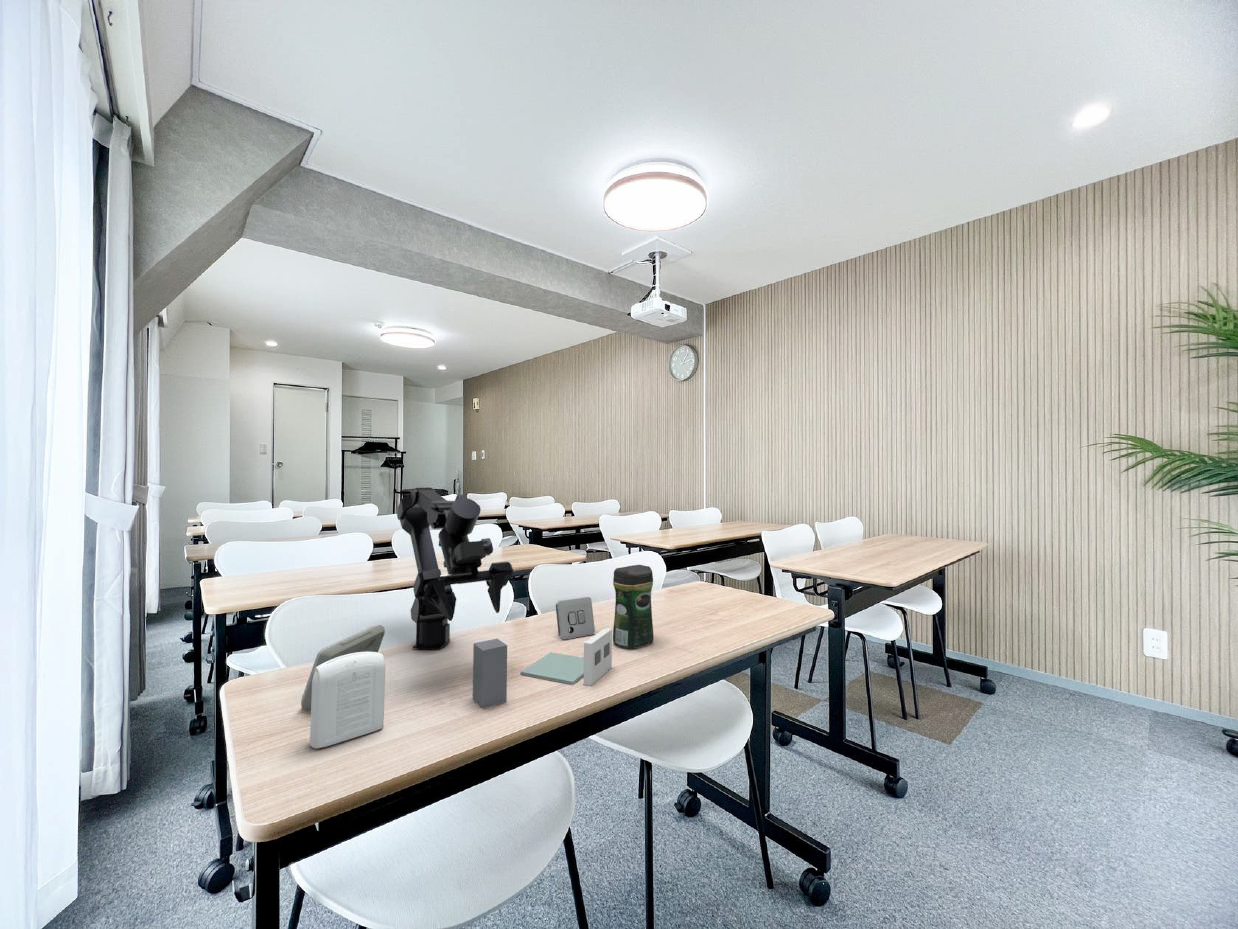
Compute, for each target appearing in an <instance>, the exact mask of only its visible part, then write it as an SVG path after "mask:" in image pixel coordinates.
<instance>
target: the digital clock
mask: <svg viewBox="0 0 1238 929" xmlns="http://www.w3.org/2000/svg"><path fill="white" fill-rule="evenodd" d="M385 632H386V631H385V627H384V626H383V625H382V624H377V625H372V626H370V627H368V628H366V629H365V628H364V629H363V630H361V631H358V632H356V633H354V634H352V635H350V636H348V637H345V638H343V639H341V640H339V641H337V642H334V643H332V644H330V645H327V646H326V647H325V646H324V647H323V648H322V649H320V650H319V651H318V652H317V654H316V658H315V660H314V662H313V665H312V669H311V670H310V674H309V677H308V680H307V682H306V686H305V689H304V691H303V694H302V696H301V700H300V705H301V706H300V707H301V709H302V710H304V711H309V710H310V711H311V701H312V679H313V676H314V670H315V668H316V667H317V666H319V665H321V664H323V663H325V662H327V661H329V660H331V659H334V658H336V657H339V656H343V655H346V654H351V653H356V652H378V653H379V650H380V647H381V644H382V642H383V639H384V636H385Z"/></svg>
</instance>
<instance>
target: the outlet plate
mask: <svg viewBox="0 0 1238 929" xmlns="http://www.w3.org/2000/svg"><path fill="white" fill-rule="evenodd" d="M612 656H613V628H607V627H606V628H603V629H602V630H600V631H599V632H597V633H596V634H594V635H593V636H592V637H590V638H588V640H585V641H584V643H583V658H584V676H583V685H584V686H590V687H591V686H592V685H594V684H595V683H596V682H598V680H599V679H601V677H603V676H604V675H605V674H606V673H608V671H610V669H611V668H613V666H612V664H613V663H612V662H613V657H612Z"/></svg>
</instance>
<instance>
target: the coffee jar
mask: <svg viewBox="0 0 1238 929" xmlns="http://www.w3.org/2000/svg"><path fill="white" fill-rule="evenodd" d="M612 584H613V587H614V592H615V604H614V605H615V606H614V618H613V626H612V627H613V628H612V643H614V644H615V645H616V646H618V647H620V648H624V649H638V648H641V647H644V646H647V645H649V644H652V643H653V641H654V625H653V612H652V611H653V610H652V589H653V585H654V576H653V570H652V568H651V567H650V566H649V565H648V566H647V565H645V564H634V565H627V566H622V567H617V568H615V569H614V571H613V581H612Z"/></svg>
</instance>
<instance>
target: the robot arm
mask: <svg viewBox="0 0 1238 929" xmlns="http://www.w3.org/2000/svg"><path fill="white" fill-rule="evenodd" d="M481 511H482V509H481V506H480V504H478V503H477V502H476V501H475V500H473V499H470V498H468V495H467V494H457V495H456V496H455V499H454V500H447V499H445V498H444V497H443V496H442V495H440V494H439V493H438V492H437V491H436V489H435V488H433V487H415V488H412V490H411V492H410V493H409V494H407V495H406V496H404V497H403V498H401V499H400V501H399V503H398V506H397V509H396V516H397V520H398V521H399V523H400V526H401V529H402V530H403V531H405V533H407V534H409V536H410V540H411V543H412V544H411V545H412V550H413V556H414V559H415V564H416V568H417V575H416V577H415V580H414V582H413V590H412V591H413V594H414V600H413V603H412V606H411V609H410V617H411V618H410V619H411V621H412V622H413V623H415V624H416V625H415V626H416V628H415V629H416V631H415V633H416V634H415V635H416V636H415V637H416V638H415V644H414V645H413V646H412V649H413V648H423V649H422V650H438V651H439V650H441V649H442V648H444V647H445V646H446V645H447V644H448V643H449V642H450V641H451V637H450V636H451V634H450V633H451V632H450V629H451V627H450V623H449V621H453V618H454V615H455V610H456V605H457V597H456V594H455V592H454V591H453V588H452V585H462V584H470V583H478V582H479V583H480V582H485V583H486V585H487V587H488V588H487V592H488V596H489V598H490V599H489V600H490V602H491V604H492V607H493V610H494V611H495V613H496V614H499V613H500V610H501V598H502V597H501V596H502V595H501V594H502V589H504V588H503V587H505V586H507V584H508V582H509V581H510V579H511V576H512V575H513V573H514V568H513V565H512V563H511V562H509V561H499V562H497V561H496V562H491V564H490V566H489V568H488V570H487V569H486V570H481V571H479V568H481V566H482V564H483V563H482V559H484V558H486V557H487V556H490V555H491V554H493V553H494V547H493V542H492V539H491V538H490V537H489V538H488V537H487V538H486V537H485V538H481V539H480V540H476V541H475V540H474V541H470V539H469V536H468V535H470V534H472V533H473V530H474V528H475V526H476V524H477V521H478V520H479V516H480V514H481ZM430 527H431V528H432V529H433V530H438V529H439V530H440V531H439V533H438V547H440V548H441V551H442V556H443V560H444V561H443V567H444V568H446V571H447V574H442V572H441V568H439V564H438V560H437V555H436V552H435V547H434V542H433V538H432V535H431V530H430Z"/></svg>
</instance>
